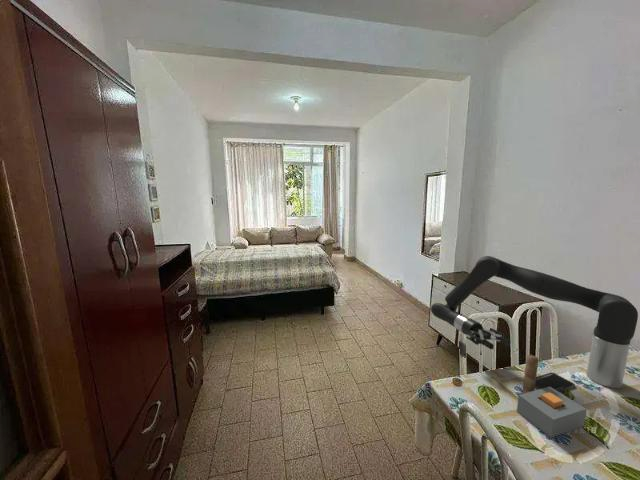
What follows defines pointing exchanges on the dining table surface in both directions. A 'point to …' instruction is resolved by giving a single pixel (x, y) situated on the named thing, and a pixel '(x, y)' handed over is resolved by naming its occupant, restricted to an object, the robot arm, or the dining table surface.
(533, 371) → the brown wooden rod
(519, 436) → the dining table surface
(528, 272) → the robot arm
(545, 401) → the button
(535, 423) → the box
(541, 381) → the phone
